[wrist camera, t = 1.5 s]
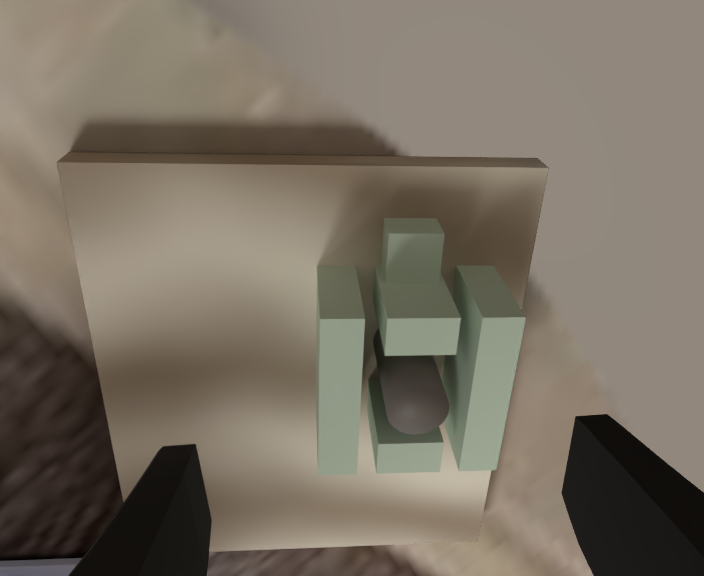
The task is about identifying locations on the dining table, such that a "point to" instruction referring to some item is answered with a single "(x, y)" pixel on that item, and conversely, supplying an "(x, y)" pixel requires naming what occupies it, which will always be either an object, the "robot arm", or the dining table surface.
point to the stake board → (279, 326)
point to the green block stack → (416, 339)
